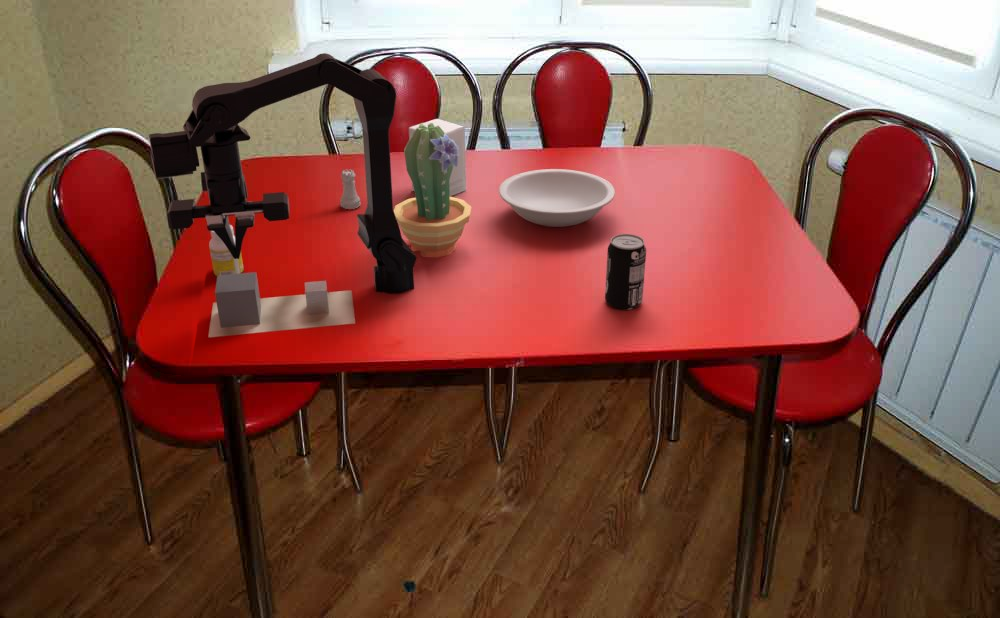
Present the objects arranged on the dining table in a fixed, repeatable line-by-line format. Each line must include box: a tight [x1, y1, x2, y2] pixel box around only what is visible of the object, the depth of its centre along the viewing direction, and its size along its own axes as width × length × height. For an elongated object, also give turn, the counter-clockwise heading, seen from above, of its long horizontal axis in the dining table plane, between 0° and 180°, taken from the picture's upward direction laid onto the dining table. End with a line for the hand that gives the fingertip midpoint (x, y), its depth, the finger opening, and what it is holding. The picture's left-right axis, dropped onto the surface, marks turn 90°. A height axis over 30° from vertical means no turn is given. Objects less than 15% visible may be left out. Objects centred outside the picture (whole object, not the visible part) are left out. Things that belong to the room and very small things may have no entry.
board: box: [208, 290, 356, 338], centre depth 165 cm, size 24×12×1 cm, turn 101°
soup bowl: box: [498, 168, 616, 228], centre depth 200 cm, size 24×24×7 cm
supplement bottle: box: [208, 224, 245, 277], centre depth 177 cm, size 5×5×10 cm
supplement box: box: [408, 118, 467, 197], centre depth 212 cm, size 9×9×15 cm
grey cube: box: [304, 280, 329, 315], centre depth 165 cm, size 4×4×4 cm
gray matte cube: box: [214, 271, 261, 328], centre depth 162 cm, size 6×6×7 cm
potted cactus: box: [393, 123, 472, 258], centre depth 184 cm, size 15×15×25 cm
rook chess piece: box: [339, 169, 362, 210], centre depth 206 cm, size 4×4×8 cm
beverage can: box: [604, 233, 647, 311], centre depth 167 cm, size 7×7×12 cm
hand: (237, 257), depth 159 cm, fingers closed
